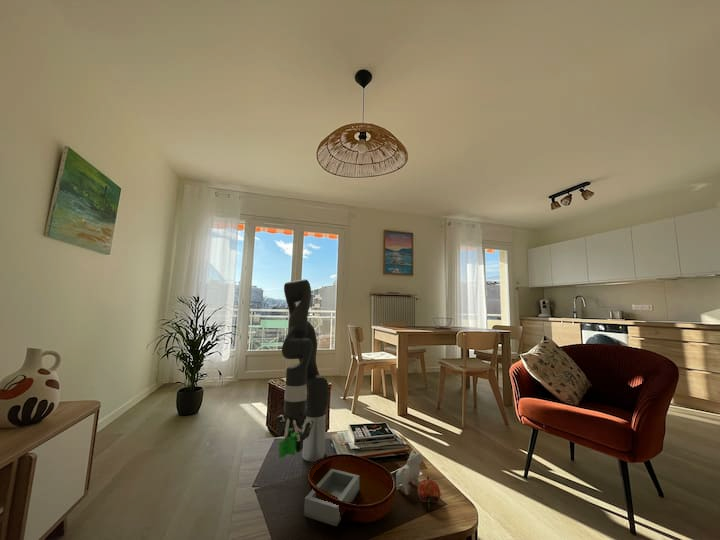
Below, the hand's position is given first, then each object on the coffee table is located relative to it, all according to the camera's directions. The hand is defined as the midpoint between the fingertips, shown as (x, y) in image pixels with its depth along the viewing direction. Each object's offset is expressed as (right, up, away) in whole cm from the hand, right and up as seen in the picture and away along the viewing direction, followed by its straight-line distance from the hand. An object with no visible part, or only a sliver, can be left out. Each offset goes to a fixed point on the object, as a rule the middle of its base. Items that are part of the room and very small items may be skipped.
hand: (293, 449), depth 101 cm
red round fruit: (+45, -16, -3) cm, 48 cm away
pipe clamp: (0, -1, 0) cm, 1 cm away
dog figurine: (+40, -17, +6) cm, 44 cm away
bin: (+14, -15, -4) cm, 21 cm away
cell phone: (+38, -18, +12) cm, 44 cm away
